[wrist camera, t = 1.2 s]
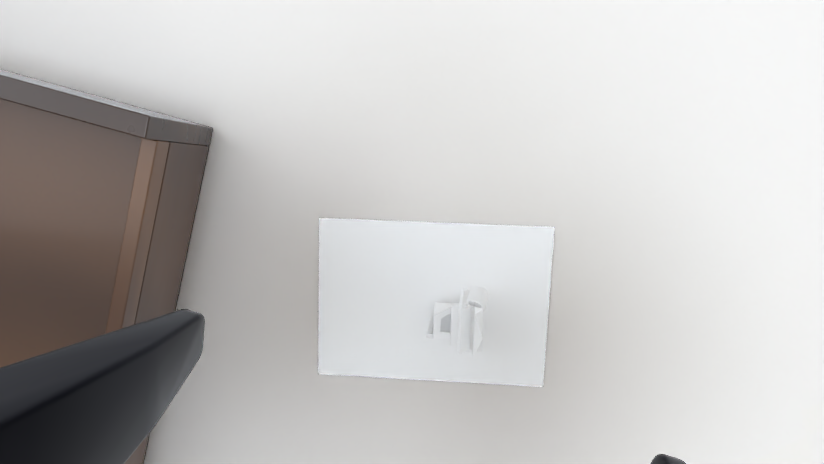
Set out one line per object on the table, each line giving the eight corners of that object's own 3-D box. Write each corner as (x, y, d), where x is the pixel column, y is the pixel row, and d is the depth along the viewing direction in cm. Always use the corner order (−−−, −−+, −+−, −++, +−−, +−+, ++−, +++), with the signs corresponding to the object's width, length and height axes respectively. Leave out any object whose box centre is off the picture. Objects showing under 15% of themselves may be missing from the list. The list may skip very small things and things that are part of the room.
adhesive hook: (485, 343, 21) (493, 373, 18) (425, 340, 21) (423, 369, 18) (489, 275, 20) (497, 294, 17) (428, 272, 21) (426, 290, 17)
